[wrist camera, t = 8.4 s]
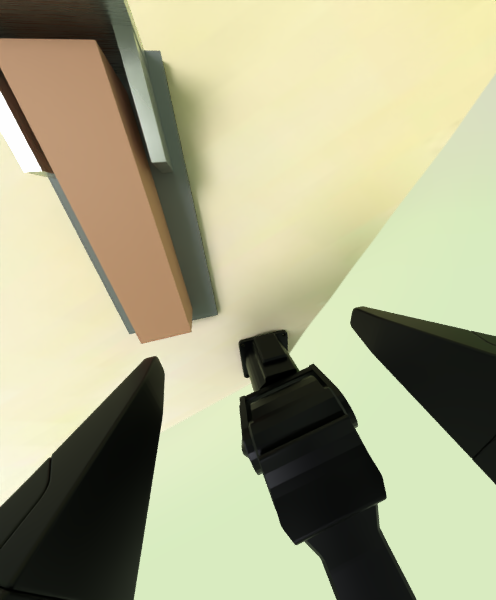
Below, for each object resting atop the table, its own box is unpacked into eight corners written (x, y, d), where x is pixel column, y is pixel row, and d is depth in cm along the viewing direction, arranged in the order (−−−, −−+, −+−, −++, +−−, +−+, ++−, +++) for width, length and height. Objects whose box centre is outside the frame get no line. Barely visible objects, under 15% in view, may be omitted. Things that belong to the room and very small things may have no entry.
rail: (192, 309, 19) (191, 332, 15) (152, 318, 18) (141, 343, 15) (126, 91, 11) (95, 39, 8) (54, 93, 11) (-15, 38, 7)
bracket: (173, 171, 14) (158, 149, 8) (65, 181, 12) (-30, 161, 7) (144, 50, 11) (94, -97, 6) (1, 47, 10) (-231, -142, 4)
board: (217, 311, 21) (217, 314, 20) (131, 329, 19) (129, 334, 18) (162, 60, 12) (159, 50, 11) (-5, 58, 10) (-20, 47, 10)
